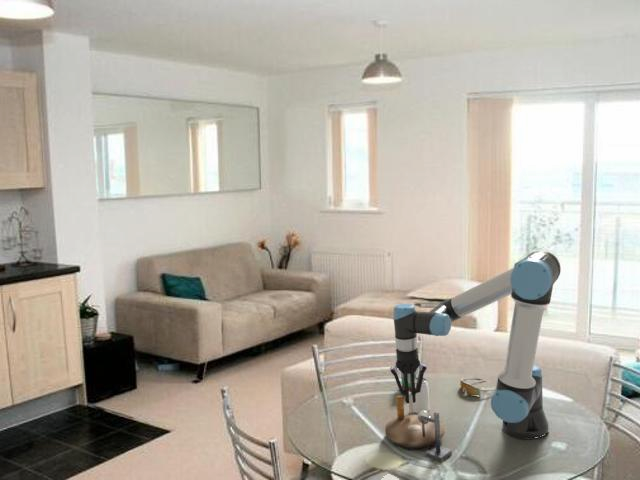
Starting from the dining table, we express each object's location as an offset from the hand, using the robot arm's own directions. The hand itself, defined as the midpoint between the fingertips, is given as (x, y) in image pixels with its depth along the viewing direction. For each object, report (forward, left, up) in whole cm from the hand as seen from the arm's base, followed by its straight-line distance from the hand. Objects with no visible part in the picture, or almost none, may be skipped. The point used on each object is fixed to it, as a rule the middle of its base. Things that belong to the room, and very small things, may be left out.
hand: (411, 411), depth 230 cm
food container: (+19, -26, -6) cm, 33 cm away
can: (+5, -13, -6) cm, 15 cm away
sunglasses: (-3, -41, -7) cm, 42 cm away
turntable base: (-6, +6, -6) cm, 10 cm away
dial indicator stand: (-17, +11, -6) cm, 21 cm away
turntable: (-6, +6, -4) cm, 9 cm away
